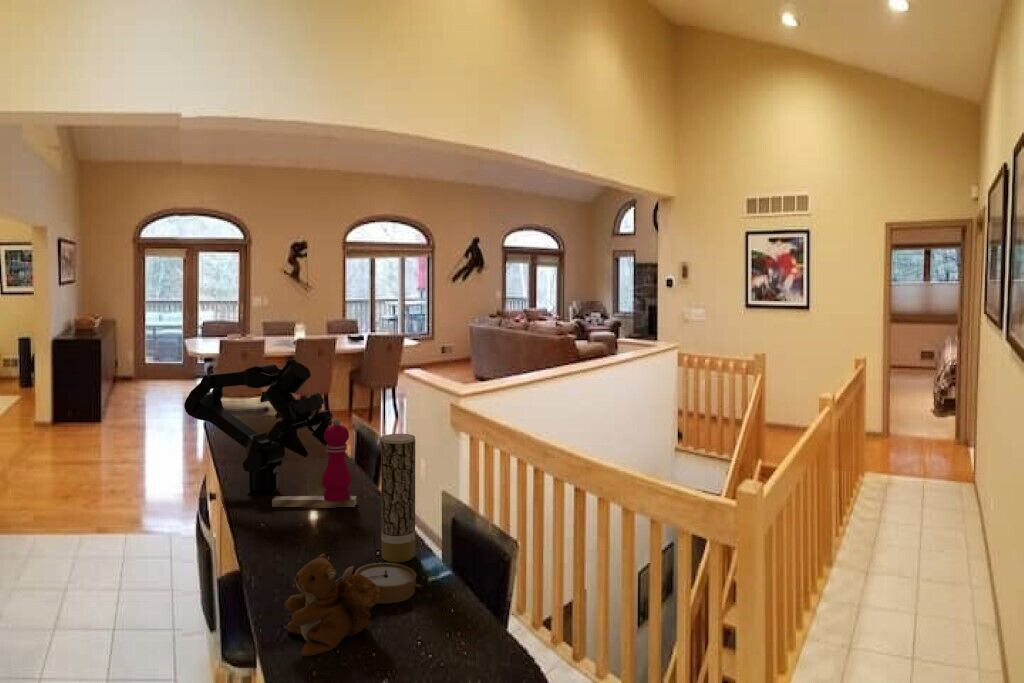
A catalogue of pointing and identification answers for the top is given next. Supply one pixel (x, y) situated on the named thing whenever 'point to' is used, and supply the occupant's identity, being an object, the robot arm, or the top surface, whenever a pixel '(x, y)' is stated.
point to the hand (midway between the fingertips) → (319, 452)
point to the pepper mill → (336, 464)
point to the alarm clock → (388, 580)
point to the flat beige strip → (310, 502)
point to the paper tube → (398, 497)
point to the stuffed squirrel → (329, 606)
